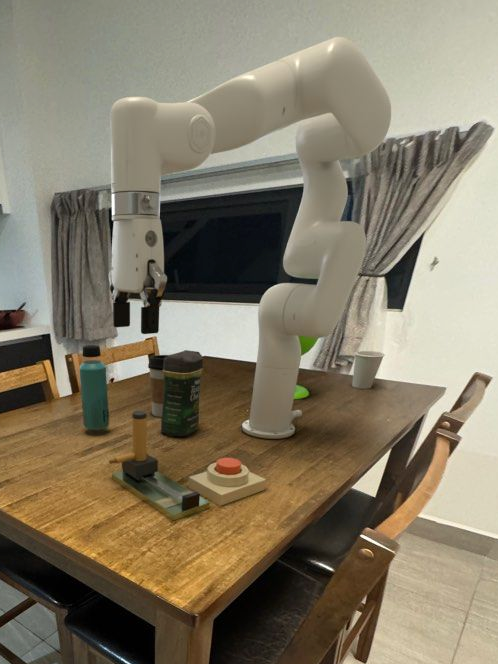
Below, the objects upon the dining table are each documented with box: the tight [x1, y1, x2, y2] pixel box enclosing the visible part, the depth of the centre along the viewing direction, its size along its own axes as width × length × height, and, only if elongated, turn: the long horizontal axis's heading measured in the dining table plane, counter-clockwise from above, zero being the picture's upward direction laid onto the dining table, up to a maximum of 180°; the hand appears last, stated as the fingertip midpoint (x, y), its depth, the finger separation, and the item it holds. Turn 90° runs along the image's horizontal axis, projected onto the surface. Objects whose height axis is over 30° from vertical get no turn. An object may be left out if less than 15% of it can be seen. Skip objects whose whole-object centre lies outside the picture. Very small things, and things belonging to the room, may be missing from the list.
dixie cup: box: [351, 350, 385, 390], centre depth 141 cm, size 8×8×10 cm
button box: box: [187, 461, 267, 507], centre depth 83 cm, size 11×9×4 cm
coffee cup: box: [147, 354, 169, 418], centre depth 119 cm, size 8×8×15 cm
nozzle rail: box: [111, 469, 211, 522], centre depth 82 cm, size 8×20×4 cm, turn 33°
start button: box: [215, 457, 242, 475], centre depth 82 cm, size 4×4×2 cm
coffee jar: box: [160, 349, 204, 437], centre depth 106 cm, size 10×8×19 cm
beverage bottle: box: [78, 344, 110, 431], centre depth 106 cm, size 6×7×20 cm
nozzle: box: [108, 410, 159, 481], centre depth 82 cm, size 9×5×12 cm, turn 123°
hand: (135, 329), depth 79 cm, fingers open, 9 cm apart
